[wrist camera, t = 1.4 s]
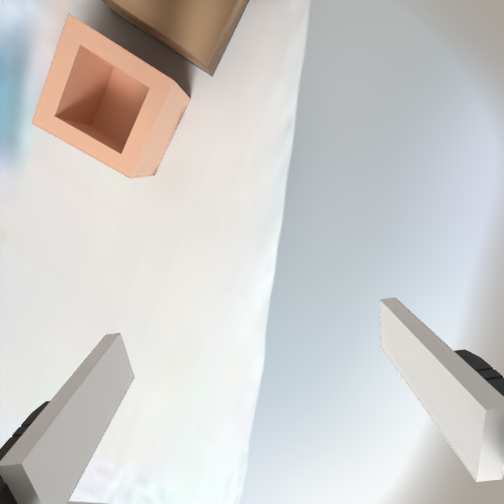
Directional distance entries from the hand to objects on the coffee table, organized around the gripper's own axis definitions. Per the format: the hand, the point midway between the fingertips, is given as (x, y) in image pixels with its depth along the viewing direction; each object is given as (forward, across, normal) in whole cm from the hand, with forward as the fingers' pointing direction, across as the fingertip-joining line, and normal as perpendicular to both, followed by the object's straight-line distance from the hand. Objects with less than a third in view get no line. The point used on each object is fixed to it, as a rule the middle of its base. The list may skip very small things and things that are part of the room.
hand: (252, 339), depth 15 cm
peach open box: (+21, -10, +15) cm, 28 cm away
